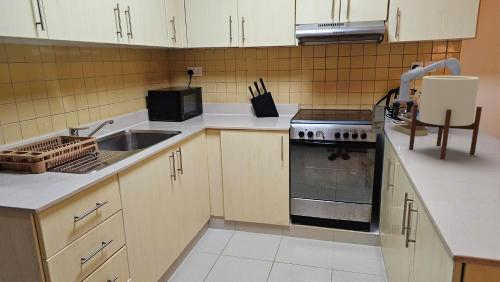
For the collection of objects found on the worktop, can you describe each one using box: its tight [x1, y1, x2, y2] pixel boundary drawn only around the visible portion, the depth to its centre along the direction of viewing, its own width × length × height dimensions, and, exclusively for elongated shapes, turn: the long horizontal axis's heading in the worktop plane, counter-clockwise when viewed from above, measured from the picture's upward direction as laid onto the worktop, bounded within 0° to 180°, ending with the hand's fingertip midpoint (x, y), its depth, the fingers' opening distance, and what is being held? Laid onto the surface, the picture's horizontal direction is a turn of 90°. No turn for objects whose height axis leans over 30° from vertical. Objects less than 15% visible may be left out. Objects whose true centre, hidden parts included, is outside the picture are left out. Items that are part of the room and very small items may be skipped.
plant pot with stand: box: [408, 75, 483, 160], centre depth 162 cm, size 22×22×36 cm
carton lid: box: [397, 112, 429, 130], centre depth 206 cm, size 10×18×5 cm
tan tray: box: [393, 123, 429, 137], centre depth 207 cm, size 10×18×3 cm, turn 11°
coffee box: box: [371, 104, 387, 135], centre depth 208 cm, size 9×6×16 cm
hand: (402, 113), depth 217 cm, fingers open, 7 cm apart
